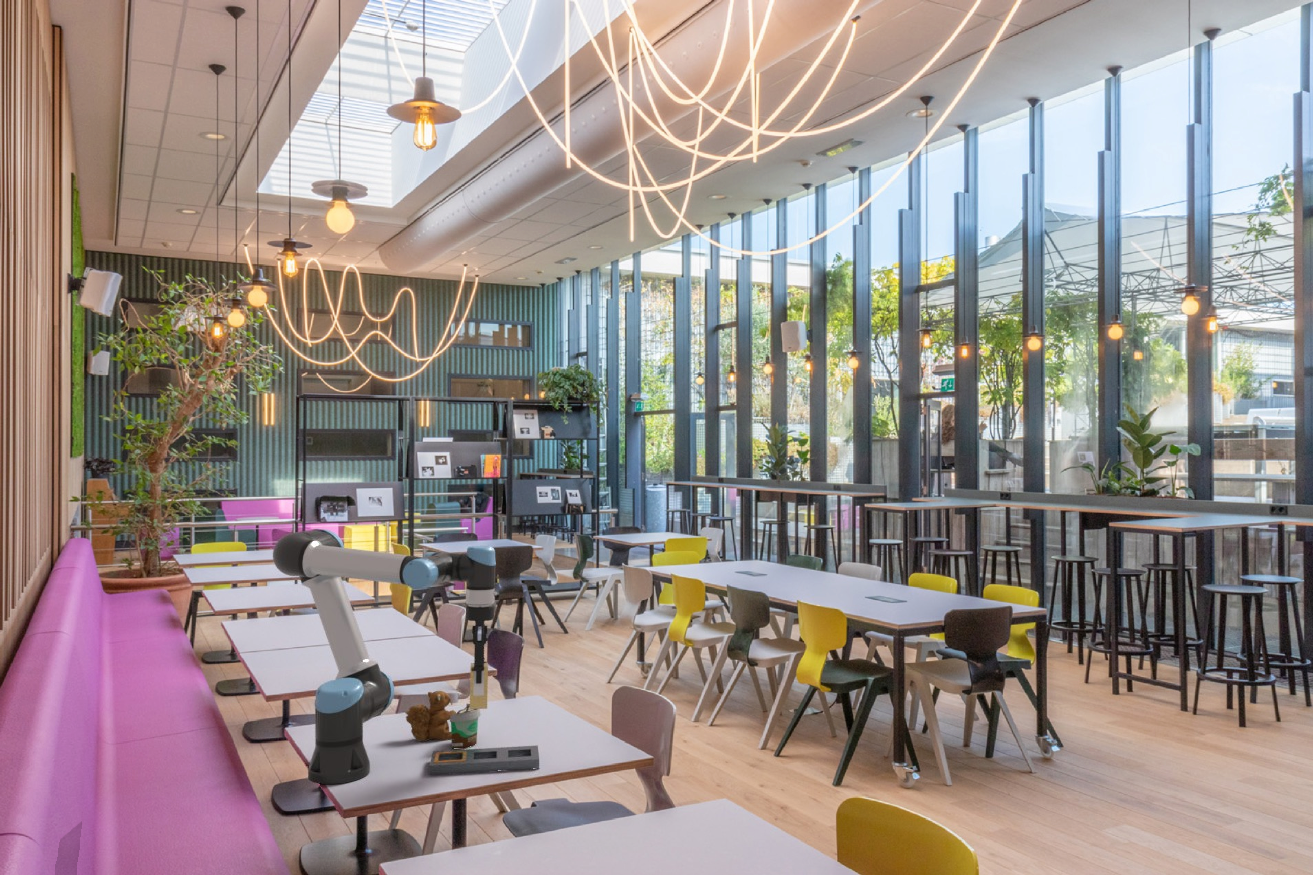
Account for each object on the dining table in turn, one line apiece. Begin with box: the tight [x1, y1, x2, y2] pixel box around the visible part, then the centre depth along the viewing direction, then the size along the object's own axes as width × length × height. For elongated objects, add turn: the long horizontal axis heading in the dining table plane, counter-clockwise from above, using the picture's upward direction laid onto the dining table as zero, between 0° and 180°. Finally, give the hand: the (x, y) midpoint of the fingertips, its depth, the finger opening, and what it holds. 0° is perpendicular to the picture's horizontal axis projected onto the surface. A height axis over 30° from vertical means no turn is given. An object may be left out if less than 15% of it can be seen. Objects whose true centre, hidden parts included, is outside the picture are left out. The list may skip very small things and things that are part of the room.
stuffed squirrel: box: [405, 690, 457, 742], centre depth 273 cm, size 10×14×13 cm
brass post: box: [469, 662, 489, 710], centre depth 248 cm, size 4×4×11 cm
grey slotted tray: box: [428, 745, 540, 776], centre depth 248 cm, size 28×12×3 cm, turn 99°
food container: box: [449, 703, 482, 750], centre depth 266 cm, size 12×6×10 cm, turn 168°
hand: (478, 692), depth 248 cm, fingers closed on brass post, 4 cm apart
